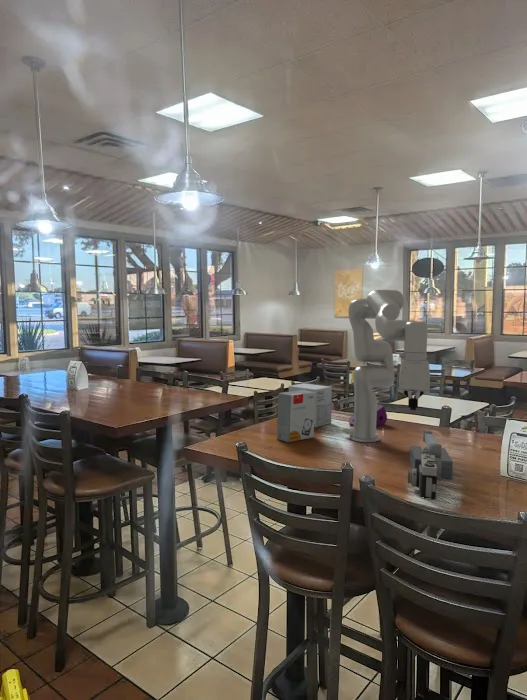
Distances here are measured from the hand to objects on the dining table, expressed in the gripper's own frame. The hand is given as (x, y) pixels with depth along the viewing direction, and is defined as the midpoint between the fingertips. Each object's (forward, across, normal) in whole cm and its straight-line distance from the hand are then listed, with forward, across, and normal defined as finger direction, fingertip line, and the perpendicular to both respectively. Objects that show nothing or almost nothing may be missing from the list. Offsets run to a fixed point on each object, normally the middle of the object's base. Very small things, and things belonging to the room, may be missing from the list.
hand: (412, 409), depth 175 cm
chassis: (+21, +6, -2) cm, 22 cm away
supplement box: (+21, -42, +62) cm, 77 cm away
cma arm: (+13, +7, -1) cm, 15 cm away
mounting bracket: (+21, -15, +64) cm, 69 cm away
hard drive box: (+21, -44, +31) cm, 58 cm away
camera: (+21, +1, -21) cm, 30 cm away
